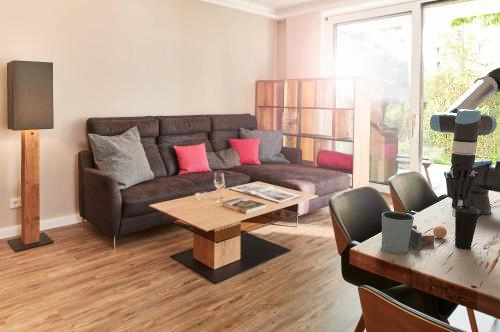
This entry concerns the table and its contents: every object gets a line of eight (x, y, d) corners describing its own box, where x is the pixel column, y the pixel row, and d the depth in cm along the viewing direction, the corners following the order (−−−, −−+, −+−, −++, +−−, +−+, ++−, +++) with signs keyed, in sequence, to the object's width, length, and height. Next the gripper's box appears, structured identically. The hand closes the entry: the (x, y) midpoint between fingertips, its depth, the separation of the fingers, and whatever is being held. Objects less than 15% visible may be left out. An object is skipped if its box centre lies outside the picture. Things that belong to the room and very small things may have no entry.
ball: (440, 235, 149) (441, 223, 148) (448, 239, 145) (450, 227, 144) (430, 236, 148) (431, 224, 147) (438, 240, 144) (439, 228, 143)
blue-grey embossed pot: (373, 247, 137) (375, 214, 135) (391, 241, 143) (393, 209, 140) (399, 257, 129) (401, 222, 127) (417, 250, 134) (420, 216, 132)
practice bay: (414, 233, 150) (415, 218, 149) (439, 248, 137) (441, 231, 136) (393, 235, 148) (395, 220, 147) (417, 250, 135) (418, 233, 134)
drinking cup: (474, 253, 132) (481, 195, 129) (449, 248, 136) (455, 192, 133) (476, 245, 139) (482, 190, 135) (451, 241, 143) (457, 187, 139)
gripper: (471, 151, 147) (463, 213, 151) (440, 152, 144) (433, 214, 148) (487, 154, 140) (479, 219, 144) (455, 155, 137) (447, 220, 141)
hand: (456, 216), depth 146 cm, fingers closed
